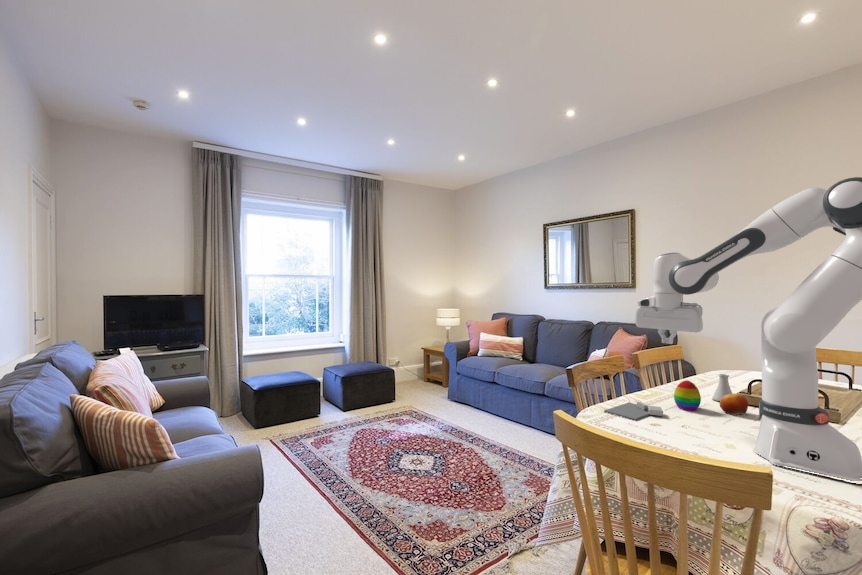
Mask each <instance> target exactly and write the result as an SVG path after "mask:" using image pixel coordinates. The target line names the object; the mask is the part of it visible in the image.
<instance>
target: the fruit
mask: <svg viewBox="0 0 862 575" xmlns="http://www.w3.org/2000/svg"><path fill="white" fill-rule="evenodd" d="M719 407H720V409H722V411H723V412H724V413H726V414H728V413H729V414H728V415H734V416H737V417H738V416H739V415H740V414H741V415H746V416H747V415H748V414H747V412H748V408H749V400H748V398H746V397H745V396H744V395H743V394H739V393H733V392H732V394H728V395H725V396H723V397H722V398H721V400H720V402H719Z"/></svg>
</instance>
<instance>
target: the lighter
mask: <svg viewBox="0 0 862 575" xmlns="http://www.w3.org/2000/svg"><path fill="white" fill-rule="evenodd" d="M636 404H637V407H639V408H641V409H642V410H648V412H649V414H650V415H649V416H651V415H652V416H659V417H663V416H664V410H663V408H662V407H661V406H655V405H648V404H646V403H644V402H642V401H637V402H636Z"/></svg>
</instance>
